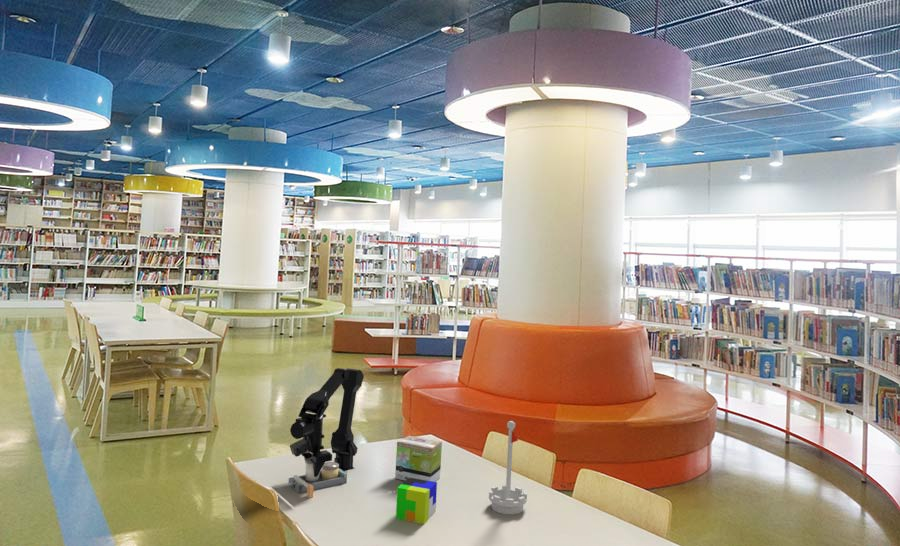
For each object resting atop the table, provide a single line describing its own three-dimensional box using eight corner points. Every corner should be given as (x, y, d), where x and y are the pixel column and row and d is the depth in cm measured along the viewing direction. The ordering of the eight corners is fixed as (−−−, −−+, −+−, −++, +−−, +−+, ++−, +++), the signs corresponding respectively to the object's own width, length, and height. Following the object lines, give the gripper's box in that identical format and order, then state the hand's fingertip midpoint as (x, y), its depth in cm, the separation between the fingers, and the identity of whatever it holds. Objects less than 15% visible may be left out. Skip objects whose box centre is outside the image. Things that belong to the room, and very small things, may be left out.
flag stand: (481, 502, 204) (485, 417, 203) (514, 498, 209) (518, 415, 209) (499, 517, 192) (503, 427, 191) (533, 512, 197) (537, 424, 197)
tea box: (394, 479, 222) (396, 441, 221) (406, 471, 231) (407, 434, 231) (430, 487, 216) (432, 447, 216) (440, 478, 225) (442, 440, 225)
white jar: (302, 477, 212) (303, 458, 212) (315, 475, 215) (316, 456, 215) (308, 482, 208) (309, 462, 208) (322, 479, 211) (322, 460, 211)
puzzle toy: (435, 512, 194) (436, 482, 194) (424, 524, 185) (425, 492, 185) (408, 506, 198) (409, 477, 197) (395, 518, 188) (397, 487, 188)
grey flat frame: (334, 476, 222) (334, 465, 222) (346, 484, 215) (347, 473, 215) (288, 485, 211) (288, 474, 211) (299, 494, 203) (299, 483, 203)
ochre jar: (333, 476, 220) (334, 461, 220) (341, 481, 215) (341, 465, 215) (318, 479, 216) (318, 463, 216) (325, 485, 211) (326, 468, 211)
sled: (296, 484, 211) (296, 473, 211) (313, 498, 200) (313, 486, 200) (270, 490, 205) (271, 478, 205) (286, 504, 194) (287, 491, 194)
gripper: (282, 428, 213) (281, 470, 214) (304, 442, 199) (302, 487, 199) (311, 424, 220) (309, 465, 220) (333, 437, 206) (332, 481, 206)
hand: (312, 474), depth 211 cm, fingers closed on white jar, 5 cm apart
